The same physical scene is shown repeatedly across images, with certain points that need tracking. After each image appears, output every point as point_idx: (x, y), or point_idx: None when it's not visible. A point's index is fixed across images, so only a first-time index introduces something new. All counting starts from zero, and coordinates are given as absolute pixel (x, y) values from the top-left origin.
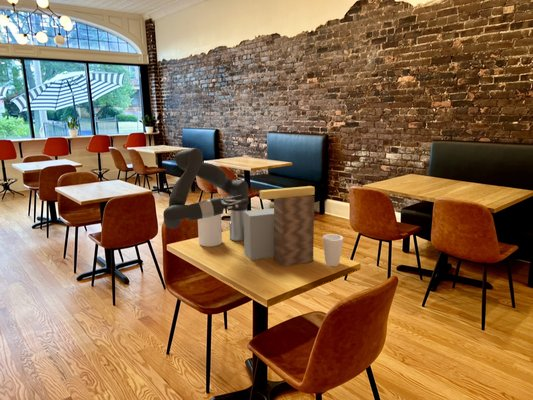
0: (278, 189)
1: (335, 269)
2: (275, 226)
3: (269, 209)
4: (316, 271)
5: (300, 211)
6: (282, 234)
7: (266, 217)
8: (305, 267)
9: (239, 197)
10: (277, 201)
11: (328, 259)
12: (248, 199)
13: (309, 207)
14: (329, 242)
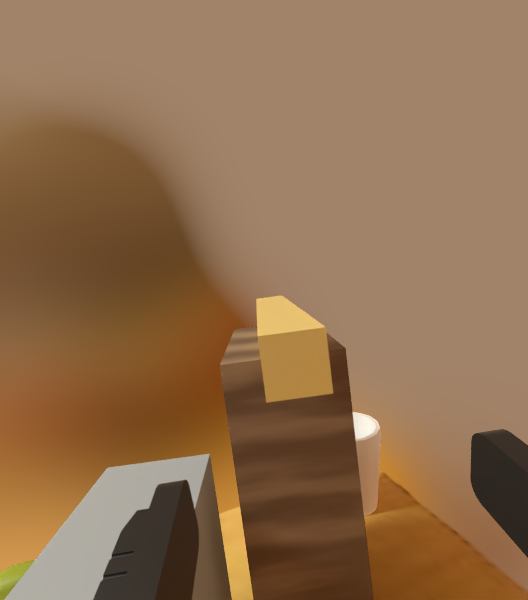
0: (273, 312)
1: (403, 505)
2: (266, 537)
3: (108, 486)
4: (427, 559)
5: None
6: (365, 538)
7: None
8: (390, 586)
9: (180, 555)
10: None
11: (372, 495)
12: (499, 435)
13: None
14: (377, 440)
